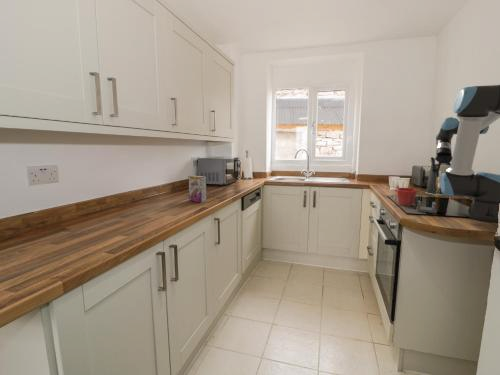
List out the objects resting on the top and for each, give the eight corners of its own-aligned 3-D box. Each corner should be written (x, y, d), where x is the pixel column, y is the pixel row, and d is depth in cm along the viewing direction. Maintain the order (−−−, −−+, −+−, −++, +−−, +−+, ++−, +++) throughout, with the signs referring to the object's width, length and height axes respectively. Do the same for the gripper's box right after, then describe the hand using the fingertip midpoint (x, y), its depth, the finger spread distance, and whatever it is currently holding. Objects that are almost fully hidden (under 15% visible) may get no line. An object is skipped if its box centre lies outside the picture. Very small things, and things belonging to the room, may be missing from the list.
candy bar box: (188, 200, 175) (187, 175, 173) (194, 199, 179) (193, 175, 177) (201, 203, 169) (200, 177, 167) (206, 201, 173) (206, 176, 171)
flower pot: (419, 206, 163) (421, 190, 162) (401, 206, 163) (402, 190, 162) (409, 202, 174) (411, 187, 172) (392, 202, 174) (393, 187, 172)
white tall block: (446, 187, 157) (448, 165, 155) (447, 188, 152) (450, 165, 150) (437, 186, 159) (440, 164, 157) (439, 188, 154) (441, 165, 152)
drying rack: (434, 210, 153) (435, 201, 152) (436, 213, 146) (437, 204, 146) (416, 208, 157) (417, 200, 156) (416, 211, 151) (417, 202, 150)
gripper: (459, 156, 162) (461, 186, 150) (426, 155, 170) (425, 184, 158) (462, 147, 156) (465, 178, 145) (427, 146, 165) (427, 176, 153)
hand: (444, 181), depth 151 cm, fingers closed on white tall block, 4 cm apart
